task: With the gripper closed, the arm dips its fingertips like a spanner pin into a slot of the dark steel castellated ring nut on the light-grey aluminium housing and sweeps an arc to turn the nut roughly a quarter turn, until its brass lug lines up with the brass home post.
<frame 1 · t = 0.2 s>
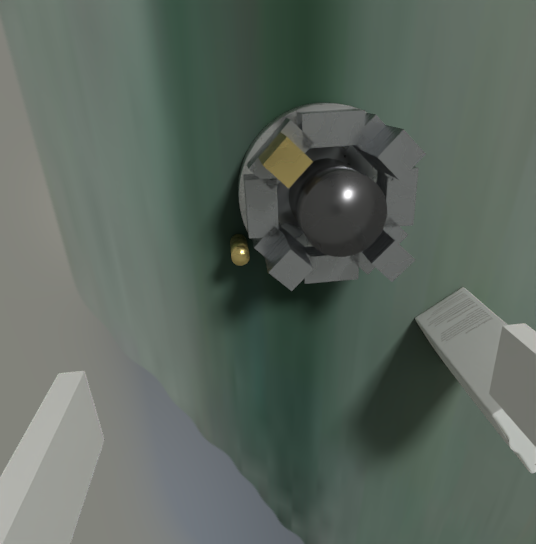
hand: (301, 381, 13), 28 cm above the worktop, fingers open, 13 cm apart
skincare box: (450, 325, 47), on the worktop
home post: (238, 241, 40), on the worktop
ring nut: (334, 205, 34), point 6 cm above the worktop, hinge at 0.0°
housing: (318, 189, 39), on the worktop
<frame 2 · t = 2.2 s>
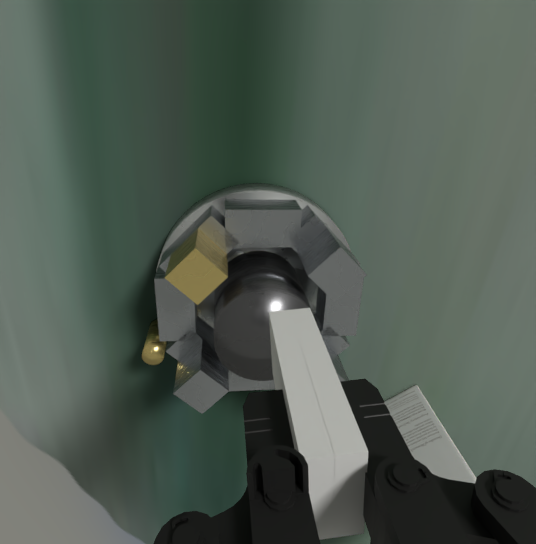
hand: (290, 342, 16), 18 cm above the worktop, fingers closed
skincare box: (400, 422, 42), on the worktop
home post: (159, 327, 35), on the worktop
ring nut: (261, 312, 29), point 6 cm above the worktop, hinge at 0.0°
housing: (255, 276, 34), on the worktop
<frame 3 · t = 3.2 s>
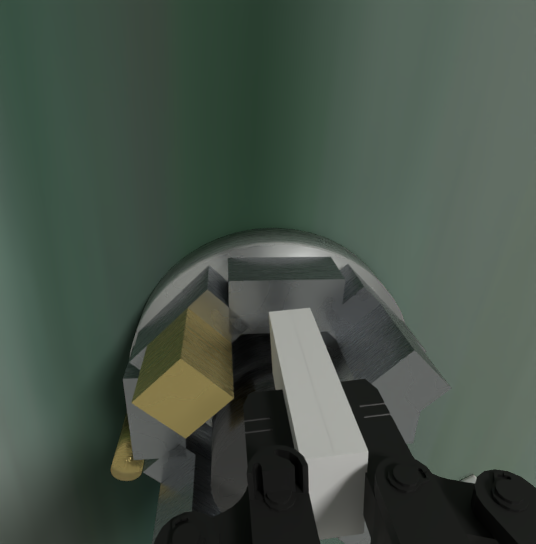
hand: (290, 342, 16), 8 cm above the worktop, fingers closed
home post: (139, 415, 26), on the worktop
ring nut: (281, 421, 20), point 6 cm above the worktop, hinge at 0.0°
housing: (268, 349, 25), on the worktop
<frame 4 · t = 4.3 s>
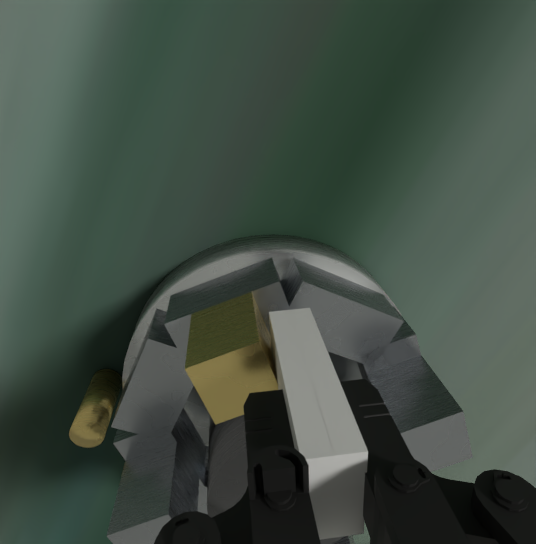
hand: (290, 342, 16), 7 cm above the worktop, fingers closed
home post: (107, 380, 23), on the worktop
ring nut: (281, 436, 19), point 6 cm above the worktop, hinge at 0.0°, touching gripper
housing: (267, 359, 24), on the worktop
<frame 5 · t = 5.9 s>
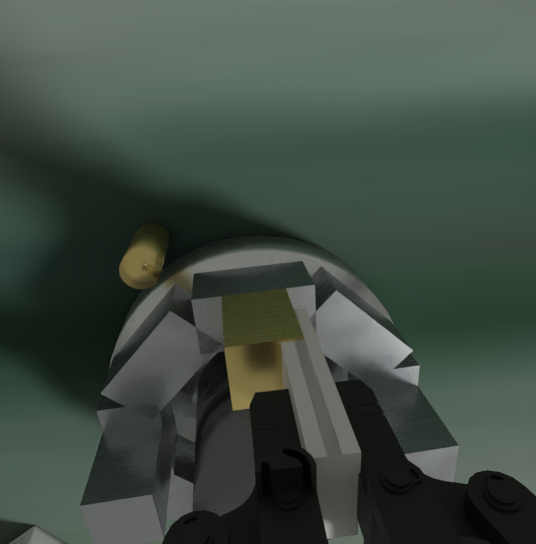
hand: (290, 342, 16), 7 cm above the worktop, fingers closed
home post: (152, 238, 20), on the worktop
ring nut: (268, 438, 19), point 6 cm above the worktop, hinge at 46.3°, touching gripper
housing: (255, 360, 24), on the worktop
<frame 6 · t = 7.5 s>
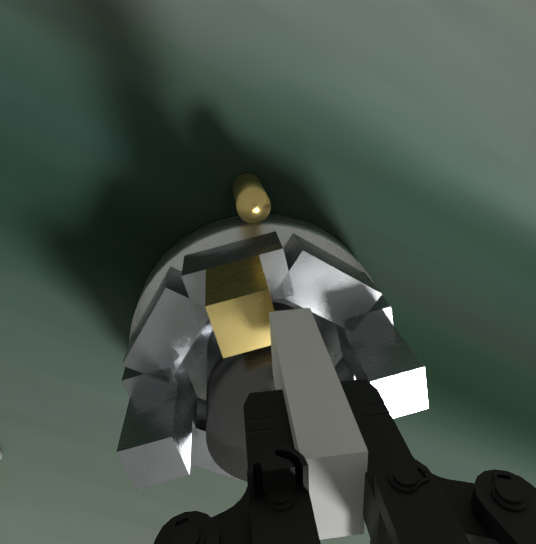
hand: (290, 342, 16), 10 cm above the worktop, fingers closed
home post: (246, 187, 23), on the worktop
ring nut: (269, 386, 22), point 6 cm above the worktop, hinge at 85.3°
housing: (257, 326, 27), on the worktop
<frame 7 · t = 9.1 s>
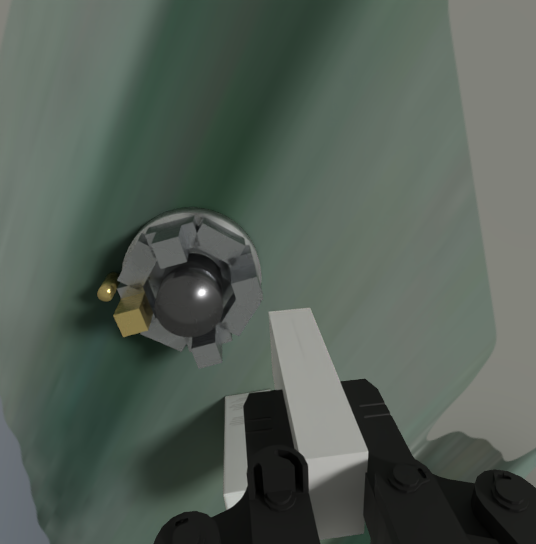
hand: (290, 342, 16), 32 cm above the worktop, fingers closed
skincare box: (249, 413, 57), on the worktop
home post: (113, 278, 48), on the worktop
ring nut: (191, 293, 43), point 6 cm above the worktop, hinge at 85.3°
housing: (194, 271, 48), on the worktop
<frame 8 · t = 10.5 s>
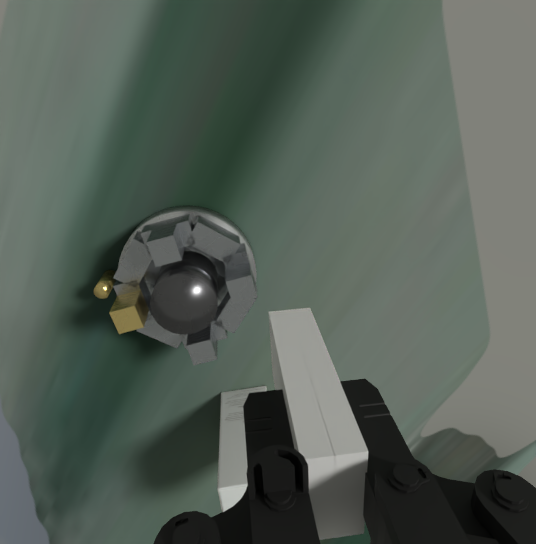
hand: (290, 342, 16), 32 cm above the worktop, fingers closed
skincare box: (245, 409, 58), on the worktop
home post: (110, 276, 48), on the worktop
ring nut: (186, 291, 43), point 6 cm above the worktop, hinge at 85.3°
housing: (190, 269, 49), on the worktop
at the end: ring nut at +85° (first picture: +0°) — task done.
